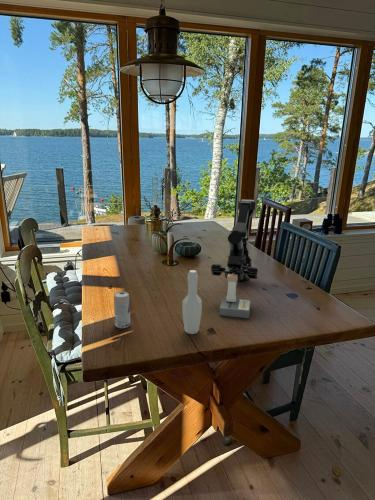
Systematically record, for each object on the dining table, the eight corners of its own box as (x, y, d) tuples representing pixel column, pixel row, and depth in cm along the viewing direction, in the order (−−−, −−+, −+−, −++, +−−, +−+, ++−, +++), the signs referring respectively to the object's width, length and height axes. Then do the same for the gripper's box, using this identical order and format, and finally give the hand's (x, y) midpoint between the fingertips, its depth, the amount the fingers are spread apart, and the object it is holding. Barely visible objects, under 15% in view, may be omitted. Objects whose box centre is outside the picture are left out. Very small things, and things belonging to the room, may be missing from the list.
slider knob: (227, 297, 145) (228, 273, 142) (236, 298, 144) (237, 274, 141) (225, 301, 141) (227, 276, 138) (235, 302, 140) (237, 277, 137)
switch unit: (222, 304, 146) (222, 296, 145) (250, 307, 144) (250, 299, 143) (219, 315, 137) (219, 307, 136) (248, 318, 134) (249, 310, 134)
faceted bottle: (190, 324, 129) (191, 266, 123) (204, 330, 126) (206, 271, 119) (178, 331, 125) (179, 271, 118) (193, 337, 121) (194, 276, 115)
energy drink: (131, 321, 131) (130, 291, 127) (129, 328, 126) (128, 297, 122) (116, 321, 131) (115, 291, 127) (114, 328, 125) (112, 297, 122)
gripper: (212, 245, 145) (207, 280, 138) (259, 248, 141) (256, 284, 134) (214, 257, 155) (209, 291, 148) (258, 261, 151) (255, 295, 144)
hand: (232, 290), depth 143 cm, fingers closed
